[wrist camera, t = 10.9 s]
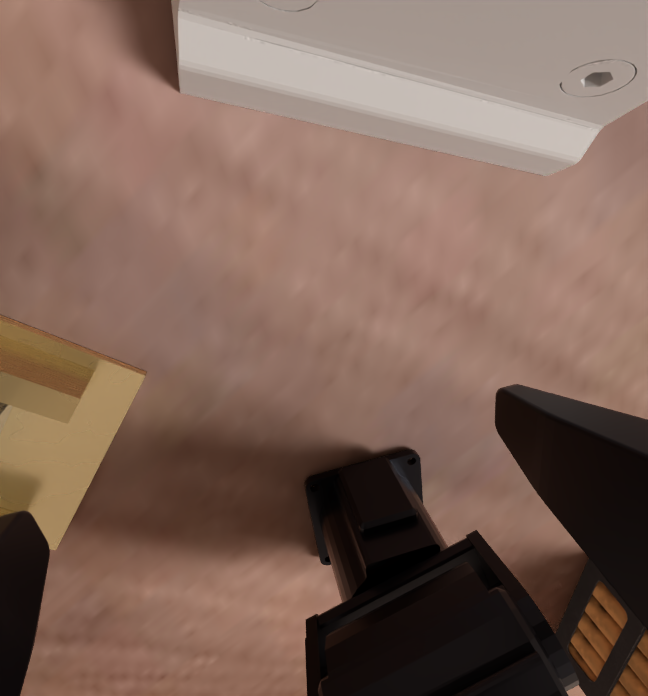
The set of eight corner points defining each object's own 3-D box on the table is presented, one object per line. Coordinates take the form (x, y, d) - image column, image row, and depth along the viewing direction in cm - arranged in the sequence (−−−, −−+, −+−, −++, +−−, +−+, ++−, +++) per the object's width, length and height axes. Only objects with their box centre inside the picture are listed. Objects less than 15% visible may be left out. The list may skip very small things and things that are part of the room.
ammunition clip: (568, 642, 37) (711, 840, 27) (549, 646, 37) (687, 849, 26) (612, 547, 33) (802, 736, 22) (592, 549, 33) (775, 743, 22)
